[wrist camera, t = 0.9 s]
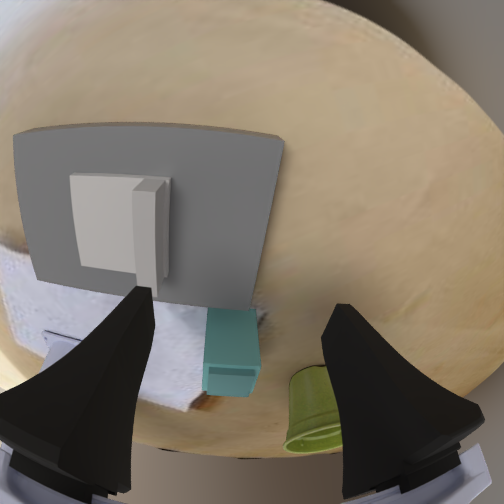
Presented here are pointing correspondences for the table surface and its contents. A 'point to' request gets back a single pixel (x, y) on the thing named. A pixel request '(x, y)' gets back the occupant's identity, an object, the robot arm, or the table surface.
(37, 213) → the socket plate
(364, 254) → the table surface
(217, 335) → the plug
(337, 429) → the plant pot
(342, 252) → the table surface
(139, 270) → the white stepped block
